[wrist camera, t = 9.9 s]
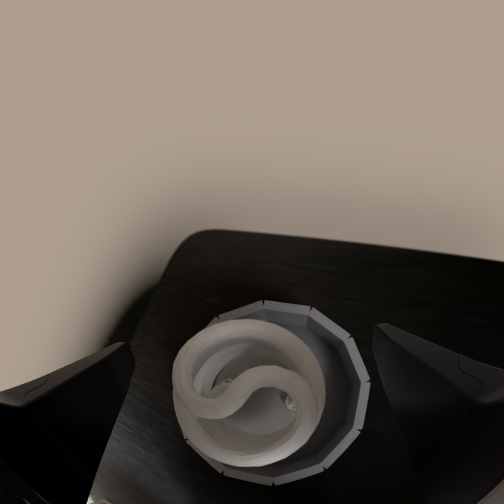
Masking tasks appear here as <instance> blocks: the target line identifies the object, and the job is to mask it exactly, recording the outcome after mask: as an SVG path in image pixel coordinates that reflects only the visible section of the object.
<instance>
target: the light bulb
mask: <svg viewBox="0 0 504 504" xmlns="http://www.w3.org/2000/svg"><path fill="white" fill-rule="evenodd" d="M223 367H224V368H223ZM222 368H223V370H222V371H221V369H222ZM220 371H221V373H220V374H219V376H218V378H217V381H216V385H215V387H214V388H213V389H212V391H211V388H212V384H213V382H214V380H215V378H216V376H217V374H218V373H219V372H220ZM172 382H173V387H174V391H173V396H174V409H175V412H176V416H177V419H178V422H179V424H180V426H181V428H182V430H183V432H184V433H185V434H186V436H187V437H188V439H189V440H190V441H191V442H192V443H193V444H194V445H195V446H196V447H197V448H198V449H199V450H200V451H202V452H203V453H204V454H206V455H207V456H209V457H211V458H213V459H215V460H217V461H220V462H222V463H225V464H229V465H234V466H238V467H253V466H264V465H267V464H271V463H274V462H277V461H279V460H282V459H285V458H286V457H288V456H289V455H291V454H292V453H293V452H295V451H296V450H298V449H299V448H300V447H301V446H302V445H304V444H305V443H306V442H307V441H308V439H309V438H310V436H311V435H312V433H313V432H314V431H315V429H316V427H317V425H318V423H319V421H320V418H321V415H322V412H323V409H324V405H325V394H326V393H325V383H324V376H323V373H322V370H321V368H320V365H319V363H318V361H317V359H316V357H315V356H314V354H313V353H312V351H311V350H310V348H309V347H308V346H307V345H306V344H305V343H304V342H303V341H302V340H301V339H300V338H298V337H297V336H295V335H294V334H293V333H291V332H290V331H288V330H286V329H284V328H282V327H280V326H278V325H276V324H273V323H269V322H265V321H262V320H255V319H237V320H228V321H224V322H221V323H217V324H214V325H212V326H210V327H208V328H206V329H204V330H202V331H200V332H199V333H198V334H196V335H195V336H194V337H192V338H191V339H190V340H188V341H187V342H186V343H185V345H184V346H183V347H182V348H181V349H180V350H179V353H178V355H177V357H176V359H175V361H174V363H173V372H172Z"/></svg>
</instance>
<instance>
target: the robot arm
mask: <svg viewBox="0 0 504 504" xmlns="http://www.w3.org/2000/svg"><path fill="white" fill-rule="evenodd" d="M372 349H373V353H374V357H375V360H376V363H377V367H378V370H379V374H380V377H381V381H382V384H383V387H384V389H385V392H386V394H387V397H388V399H389V401H390V404H391V406H392V409H393V411H394V414H395V416H396V419H397V422H398V424H399V427H400V429H401V432H402V435H403V437H404V440H405V443H406V445H407V448H408V451H409V454H410V457H411V460H412V462H413V465H414V468H415V471H416V474H417V477H418V481H419V483H420V487H421V491H422V494H423V497H424V501H425V504H504V370H502V369H499V368H496V367H492V366H489V365H486V364H483V363H480V362H477V361H475V360H472V359H469V358H467V357H464V356H462V355H460V354H457V353H455V352H452V351H450V350H448V349H445V348H443V347H441V346H438V345H436V344H433V343H431V342H429V341H426V340H424V339H422V338H419V337H417V336H415V335H412V334H410V333H408V332H405V331H403V330H401V329H398V328H396V327H394V326H391V325H389V324H387V323H383V324H378V325H375V327H374V332H373V343H372ZM135 364H136V362H135V358H134V356H133V353H132V350H131V348H130V345H129V344H128V343H126V342H118V343H115V344H113V345H111V346H109V347H107V348H104V349H102V350H100V351H98V352H96V353H94V354H91V355H89V356H87V357H85V358H83V359H80V360H78V361H76V362H74V363H72V364H69V365H67V366H65V367H63V368H60V369H58V370H56V371H54V372H51V373H50V374H47V375H45V376H42V377H40V378H37V379H35V380H32V381H30V382H27V383H24V384H22V385H19V386H16V387H13V388H11V389H7V390H4V391H1V392H0V504H87V501H88V498H89V494H90V491H91V488H92V485H93V481H94V479H95V476H96V473H97V470H98V467H99V464H100V462H101V459H102V456H103V453H104V451H105V448H106V445H107V443H108V440H109V437H110V435H111V432H112V430H113V427H114V425H115V422H116V420H117V417H118V415H119V412H120V410H121V407H122V405H123V402H124V400H125V397H126V395H127V391H128V388H129V385H130V381H131V378H132V375H133V372H134V368H135Z"/></svg>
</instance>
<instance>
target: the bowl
mask: <svg viewBox="0 0 504 504" xmlns="http://www.w3.org/2000/svg"><path fill="white" fill-rule="evenodd" d="M219 318H220V320H219V319H218V318H217V317H215V318H214V319H213V320H212V321H211V322H210V323H209V324H208V325H207V326H206V328H208V327H210V326H212V325H214V324H217V323H221V322H224V321H228V320H237V319H255V320H262V321H265V322H269V323H273V324H276V325H278V326H280V327H282V328H284V329H286V330H288V331H290V332H291V333H293V334H294V335H295V336H297V337H298V338H300V339H301V340H302V341H303V342H304V343H305V344H306V345H307V346H308V347H309V348H310V350H311V351H312V353H313V354H314V356H315V357H316V359H317V361H318V363H319V365H320V368H321V370H322V373H323V376H324V383H325V393H326V394H325V405H324V409H323V412H322V415H321V418H320V421H319V423H318V425H317V427H316V429H315V431H314V432H313V433H312V435H311V436H310V438H309V439H308V441H307V442H306V443H305V444H304V445H302V446H301V447H300V448H299V449H298V450H296V451H295V452H293V453H292V454H291V455H289V456H288V457H286V458H285V459H282V460H279V461H277V462H274V463H271V464H267V465H264V466H253V467H238V466H234V465H229V464H225V463H222V462H220V461H217V460H215V459H213V458H211V457H209V456H207V455H206V454H204V453H203V452H202V451H200V450H199V449H198V448H197V447H196V446H195V445H194V444H193V443H192V442H191V441H190V440H189V439H188V440H187V441H186V442H187V443H188V444H189V445H190V446H191V447H192V448H193V449H194V450H195V451H196V452H197V453H198V454H199V455H200V456H201V457H202V458H203V459H205V460H206V461H207V462H208V463H209V464H210V465H211V466H212V467H213V468H215V469H216V470H217V471H218V472H219V473H221V472H223V471H224V474H223V475H225V476H229V477H233V478H237V479H241V480H245V481H249V482H254V483H259V484H264V485H270V486H272V483H273V481H274V484H275V486H276V485H280V484H284V483H288V482H291V481H295V480H298V479H301V478H304V477H308V476H311V475H314V474H316V473H319V472H322V471H324V469H323V467H325V468H326V469H328V468H329V467H330V465H331V464H332V463H333V462H334V461H335V460H336V459H337V458H338V457H339V456H340V455H341V454H342V453H343V452H344V451H345V450H346V449H347V447H348V446H349V445H350V444H351V443H352V442H353V441H354V439H355V438H356V437H357V436H358V435H359V434H360V431H358V430H357V429H362V427H363V423H364V418H365V412H366V407H367V401H368V395H369V389H370V383H369V382H366V381H368V380H370V378H369V375H368V373H367V371H366V368H365V366H364V363H363V361H362V359H361V356H360V354H359V351H358V349H357V347H356V344H355V342H354V340H353V337H351V338H349V339H347V338H348V337H349V336H350V334H349V333H347V332H346V331H345V330H343V329H342V328H341V327H339V326H338V325H336V324H335V323H334V322H332V321H331V320H330V319H328V318H327V317H326V316H324V315H323V314H321V313H320V312H319V311H317V310H316V309H315V308H313V309H312V310H311V311H310V306H304V305H296V304H289V303H282V302H275V301H268V300H265V301H264V306H263V303H262V300H261V301H258V302H256V303H253V304H250V305H247V306H244V307H241V308H238V309H235V310H232V311H229V312H226V313H223V314H220V315H219ZM206 328H205V329H206ZM223 368H224V367H223ZM223 368H222V369H221V371H222V370H223ZM221 371H220V372H219V373H218V374H217V376H216V378H215V380H214V382H213V384H212V388H211V391H212V389H213V388H214V387H215V385H216V381H217V378H218V376H219V374H220V373H221ZM173 391H174V388H173ZM172 393H173V392H172ZM172 397H173V401H174V396H172ZM181 430H182V428H181ZM182 433H183V436H184V439H186V438H188V437H187V436H186V434H185V433H184V432H183V430H182ZM322 466H323V467H322Z"/></svg>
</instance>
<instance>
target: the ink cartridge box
mask: <svg viewBox="0 0 504 504" xmlns="http://www.w3.org/2000/svg"><path fill="white" fill-rule="evenodd" d="M91 504H112V503H110V502H108V501H107V500H100V501H97V502H94V503H91Z"/></svg>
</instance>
